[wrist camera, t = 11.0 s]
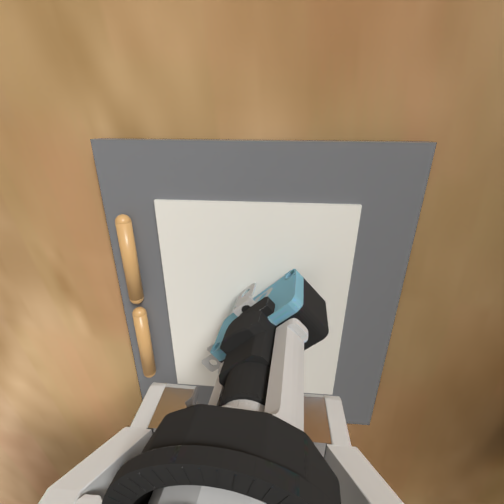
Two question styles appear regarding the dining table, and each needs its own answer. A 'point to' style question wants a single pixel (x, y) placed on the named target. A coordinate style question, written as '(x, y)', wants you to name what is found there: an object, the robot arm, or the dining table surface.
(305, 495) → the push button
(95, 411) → the dining table surface
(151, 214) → the grey board
